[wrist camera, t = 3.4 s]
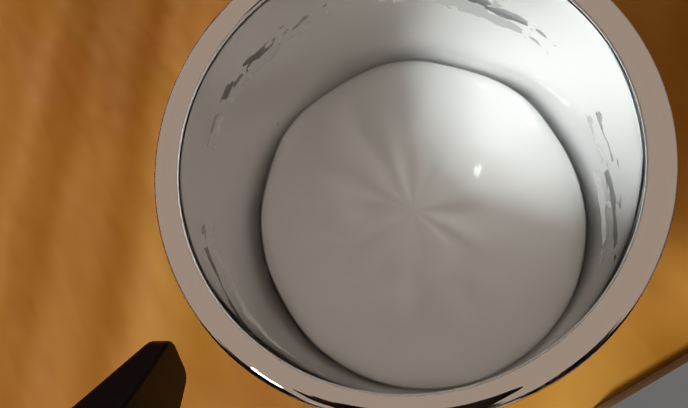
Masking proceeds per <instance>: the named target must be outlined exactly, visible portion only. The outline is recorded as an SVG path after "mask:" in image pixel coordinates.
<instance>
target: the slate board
mask: <svg viewBox="0 0 688 408" xmlns="http://www.w3.org/2000/svg"><path fill="white" fill-rule="evenodd" d="M596 408H688V353H687V354H685V355H684V356H682V357H680V358H679V359H677V360H675V361H673V362H672V363H670V364H668V365H667V366H665V367H663V368H662V369H660V370H658V371H657V372H655V373H653V374H651V375H650V376H648V377H646V378H645V379H643V380H641V381H640V382H638V383H636V384H635V385H633V386H631V387H629V388H628V389H626V390H624V391H623V392H621V393H619V394H618V395H616V396H614V397H613V398H611V399H609V400H607V401H606V402H604V403H602V404H601V405H599V406H597V407H596Z"/></svg>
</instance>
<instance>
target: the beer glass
mask: <svg viewBox="0 0 688 408" xmlns="http://www.w3.org/2000/svg"><path fill="white" fill-rule="evenodd" d="M677 186H678V146H677V136H676V129H675V122H674V118H673V113H672V109H671V105H670V102H669V98H668V95H667V92H666V88H665V85H664V83H663V80H662V78H661V75H660V72H659V70H658V68H657V66H656V64H655V61H654V60H653V58H652V56H651V54H650V52H649V50H648V48H647V47H646V45H645V43H644V41H643V40H642V38H641V37H640V35H639V34H638V32H637V31H636V29H635V28H634V26H633V25H632V24H631V22H630V21H629V20H628V18H627V17H626V16H625V15H624V14H623V12H622V11H621V10H620V9H619V8H618V7H617V5H616V4H615V3H614V2H613V1H612V0H231V1H230V2H229V3H228V4H227V6H226V7H225V8H224V9H223V10H222V11H221V12H220V13H219V14H218V15H217V17H216V18H215V19H214V20H213V21H212V22H211V24H210V25H209V26H208V27H207V29H206V30H205V31H204V33H203V34H202V36H201V37H200V38H199V40H198V41H197V43H196V44H195V46H194V47H193V49H192V51H191V52H190V54H189V56H188V58H187V59H186V61H185V63H184V65H183V67H182V69H181V71H180V73H179V75H178V77H177V79H176V81H175V84H174V86H173V88H172V91H171V94H170V96H169V99H168V102H167V105H166V108H165V112H164V115H163V118H162V123H161V127H160V131H159V136H158V142H157V149H156V157H155V171H154V190H155V206H156V214H157V221H158V226H159V231H160V236H161V240H162V244H163V247H164V251H165V254H166V257H167V260H168V263H169V265H170V268H171V270H172V273H173V275H174V278H175V280H176V282H177V284H178V286H179V288H180V290H181V292H182V294H183V296H184V298H185V299H186V301H187V303H188V305H189V306H190V308H191V309H192V311H193V312H194V314H195V315H196V317H197V318H198V320H199V321H200V322H201V324H202V325H203V327H204V328H205V329H206V330H207V332H208V333H209V334H210V335H211V337H212V338H213V339H214V340H215V341H216V342H217V343H218V344H219V345H220V347H221V348H222V349H223V350H224V351H226V352H227V353H228V354H229V355H230V356H231V357H232V358H233V359H234V360H235V361H236V362H237V363H238V364H240V365H241V366H242V367H243V368H245V369H246V370H247V371H248V372H250V373H251V374H252V375H254V376H255V377H256V378H258V379H259V380H261V381H262V382H264V383H265V384H267V385H268V386H270V387H272V388H273V389H275V390H277V391H278V392H280V393H282V394H284V395H286V396H288V397H290V398H292V399H294V400H296V401H298V402H300V403H302V404H305V405H307V406H310V407H312V408H506V407H509V406H512V405H514V404H516V403H518V402H521V401H523V400H525V399H527V398H529V397H531V396H533V395H535V394H537V393H539V392H541V391H543V390H544V389H546V388H548V387H550V386H551V385H553V384H555V383H556V382H558V381H559V380H561V379H562V378H564V377H565V376H567V375H568V374H569V373H571V372H572V371H574V370H575V369H576V368H577V367H579V366H580V365H581V364H582V363H584V362H585V361H586V360H587V359H588V358H589V357H591V356H592V355H593V354H594V353H595V352H596V351H597V350H598V349H599V348H600V347H601V346H602V345H603V344H604V343H605V342H606V341H607V340H608V339H609V338H610V337H611V336H612V335H613V334H614V333H615V331H616V330H617V329H618V328H619V327H620V325H621V324H622V323H623V322H624V320H625V319H626V318H627V316H628V315H629V314H630V312H631V311H632V310H633V308H634V307H635V305H636V304H637V302H638V300H639V299H640V297H641V296H642V294H643V292H644V291H645V289H646V287H647V285H648V284H649V282H650V280H651V278H652V276H653V274H654V272H655V269H656V267H657V265H658V263H659V260H660V258H661V256H662V253H663V250H664V247H665V244H666V241H667V238H668V235H669V231H670V228H671V223H672V219H673V214H674V209H675V203H676V196H677Z"/></svg>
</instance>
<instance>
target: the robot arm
mask: <svg viewBox="0 0 688 408" xmlns="http://www.w3.org/2000/svg"><path fill="white" fill-rule="evenodd" d="M185 384H186V372H185V368H184V366H183V364H182V361H181V359H180V357H179V354H178V352H177V350H176V348H175V346H174V344H173V343H172V342H170V341H152V342H149V343H148V344H146V345H145V346H144V347H142V348H141V349H140V350H139V351H138V352H137V353H135V354H134V355H133V356H132V357H131V358H130V359H128V360H127V361H126V362H125V363H124V364H123V365H121V366H120V367H119V368H118V369H117V370H116V371H114V372H113V373H112V374H111V375H110V376H109V377H107V378H106V379H105V380H104V381H103V382H101V383H100V384H99V385H98V386H97V387H96V388H94V389H93V390H92V391H91V392H90V393H89V394H87V395H86V396H85V397H84V398H83V399H82V400H80V401H79V402H78V403H77V404H76V405H75V406H73V407H72V408H180V406H181V402H182V397H183V393H184V388H185Z"/></svg>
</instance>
